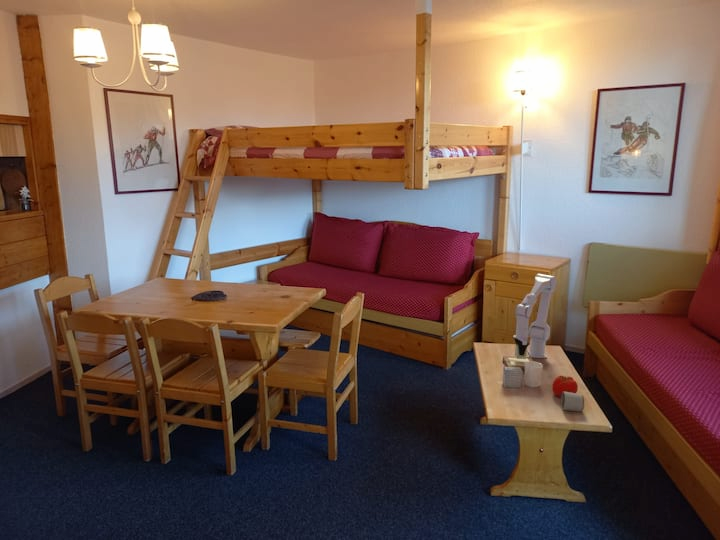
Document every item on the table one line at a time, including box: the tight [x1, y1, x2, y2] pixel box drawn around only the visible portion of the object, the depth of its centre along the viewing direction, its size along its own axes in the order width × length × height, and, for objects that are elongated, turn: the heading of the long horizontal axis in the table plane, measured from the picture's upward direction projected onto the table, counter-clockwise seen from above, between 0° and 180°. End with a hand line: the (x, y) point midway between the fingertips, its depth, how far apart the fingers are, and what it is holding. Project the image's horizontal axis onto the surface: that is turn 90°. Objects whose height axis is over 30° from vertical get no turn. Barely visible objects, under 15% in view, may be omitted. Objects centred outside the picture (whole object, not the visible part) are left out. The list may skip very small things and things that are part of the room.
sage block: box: [514, 343, 528, 359], centre depth 262 cm, size 4×4×6 cm
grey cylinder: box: [560, 391, 585, 412], centre depth 220 cm, size 11×8×8 cm
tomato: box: [551, 375, 579, 398], centre depth 231 cm, size 11×11×9 cm
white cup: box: [524, 361, 544, 388], centre depth 242 cm, size 8×8×10 cm
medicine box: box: [502, 366, 523, 389], centre depth 241 cm, size 8×4×9 cm, turn 84°
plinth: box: [502, 356, 533, 373], centre depth 263 cm, size 14×14×2 cm
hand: (520, 353), depth 262 cm, fingers closed on sage block, 4 cm apart
